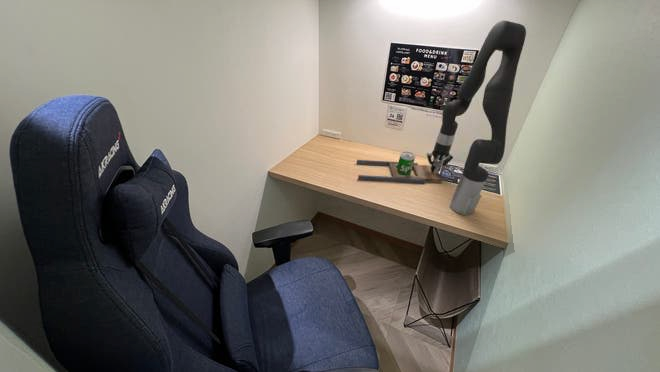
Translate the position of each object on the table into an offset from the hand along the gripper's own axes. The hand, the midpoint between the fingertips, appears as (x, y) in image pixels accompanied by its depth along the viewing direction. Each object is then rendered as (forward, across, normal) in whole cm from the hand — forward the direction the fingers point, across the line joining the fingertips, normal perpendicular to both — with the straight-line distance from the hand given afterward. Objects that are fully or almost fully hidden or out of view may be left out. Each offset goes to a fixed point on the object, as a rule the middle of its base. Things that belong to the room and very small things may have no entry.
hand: (434, 171), depth 138 cm
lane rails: (+3, +24, 0) cm, 24 cm away
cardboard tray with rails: (+3, +11, 0) cm, 11 cm away
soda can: (+3, +16, 0) cm, 17 cm away
